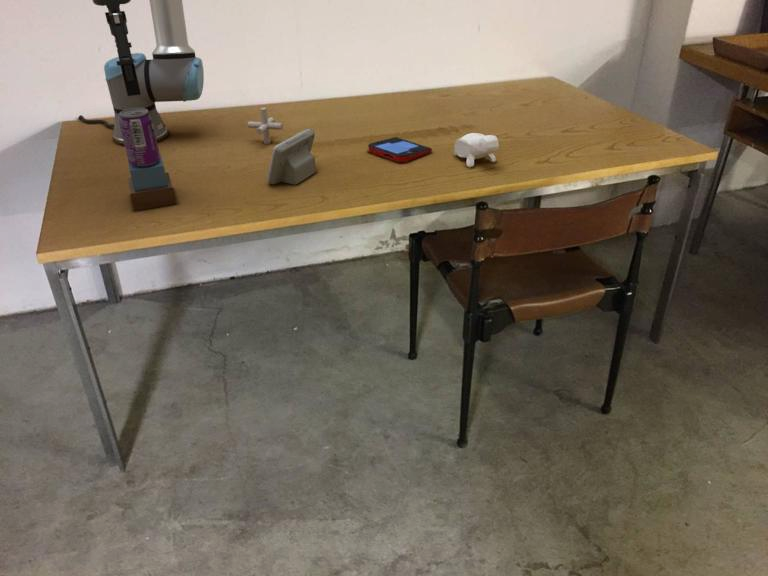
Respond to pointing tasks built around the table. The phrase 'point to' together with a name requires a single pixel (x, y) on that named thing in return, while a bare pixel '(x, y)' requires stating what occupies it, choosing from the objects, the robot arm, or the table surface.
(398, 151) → the game console
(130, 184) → the walnut block
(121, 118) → the beverage can
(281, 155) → the digital clock
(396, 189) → the table surface
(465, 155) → the white toy sheep
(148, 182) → the blue block
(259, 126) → the pipe connector
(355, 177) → the table surface
